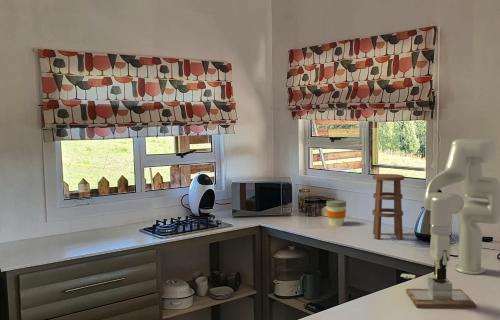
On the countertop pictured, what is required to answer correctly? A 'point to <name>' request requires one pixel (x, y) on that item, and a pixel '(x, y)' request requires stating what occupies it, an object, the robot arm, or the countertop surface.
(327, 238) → the countertop surface
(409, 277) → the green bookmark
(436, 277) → the hinge pin
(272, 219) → the countertop surface
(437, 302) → the walnut board
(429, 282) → the grey stepped block
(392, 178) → the stool
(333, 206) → the reusable coffee cup
